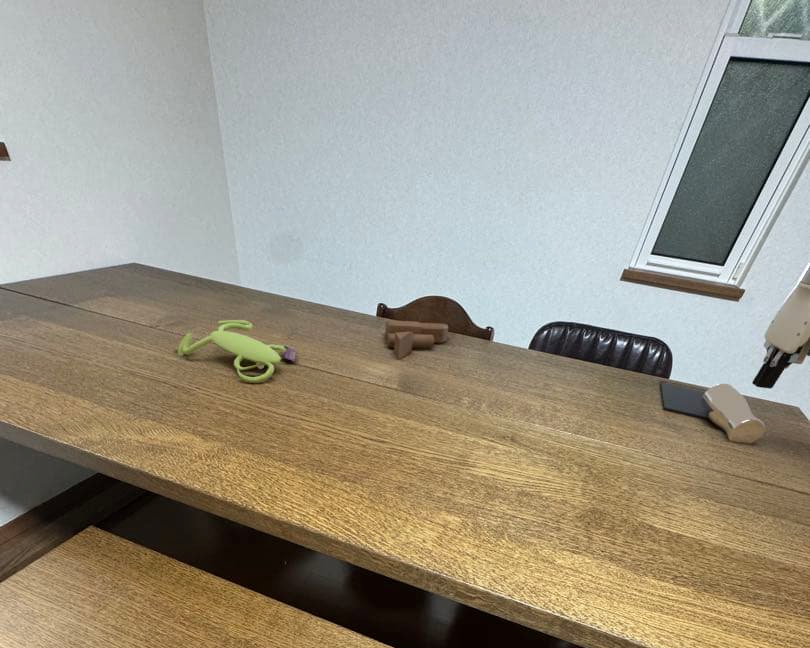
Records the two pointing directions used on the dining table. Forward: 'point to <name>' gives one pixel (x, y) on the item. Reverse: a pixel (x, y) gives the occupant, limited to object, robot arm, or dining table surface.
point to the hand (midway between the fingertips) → (761, 386)
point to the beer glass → (731, 414)
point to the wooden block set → (413, 335)
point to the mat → (682, 401)
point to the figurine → (241, 348)
